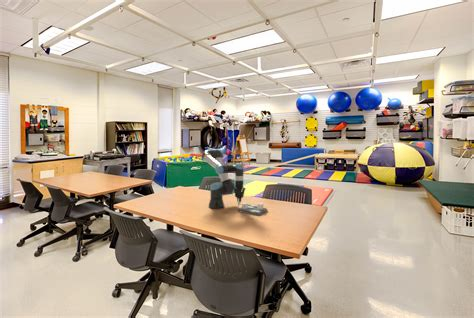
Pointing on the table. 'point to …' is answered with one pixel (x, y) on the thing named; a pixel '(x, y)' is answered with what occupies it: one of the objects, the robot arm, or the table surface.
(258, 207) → the tab
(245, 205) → the tab
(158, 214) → the table surface
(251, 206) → the switch board
